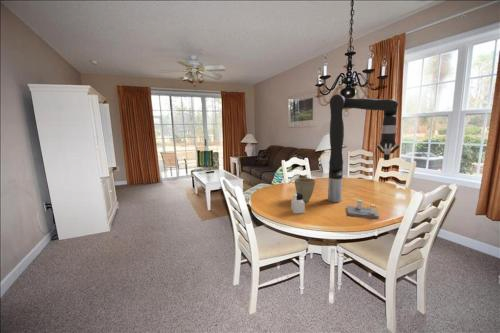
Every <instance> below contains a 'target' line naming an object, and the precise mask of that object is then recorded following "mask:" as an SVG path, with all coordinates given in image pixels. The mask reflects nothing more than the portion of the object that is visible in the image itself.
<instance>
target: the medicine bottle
mask: <svg viewBox="0 0 500 333" xmlns="http://www.w3.org/2000/svg"><path fill="white" fill-rule="evenodd" d="M292 195H293V196H292V198H293V199H291V203H290V204H291V207H290V208H291V211H292V212H293V214H306V212H305V210H306V208H305V206H306V202H304V201H303V195H302V194H301V193H297V192H296V193H293V194H292Z"/></svg>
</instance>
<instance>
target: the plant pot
mask: <svg viewBox="0 0 500 333" xmlns="http://www.w3.org/2000/svg"><path fill="white" fill-rule="evenodd" d="M315 184H316V180H315V179H314V178H312V177H311V178H310V177H298V178H294V187H295V191H296V193H301V194H302V195H303V201H304V202H305V203H308V202H310V200H311V198H312V195H313V193H314V189H315V186H316V185H315Z"/></svg>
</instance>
